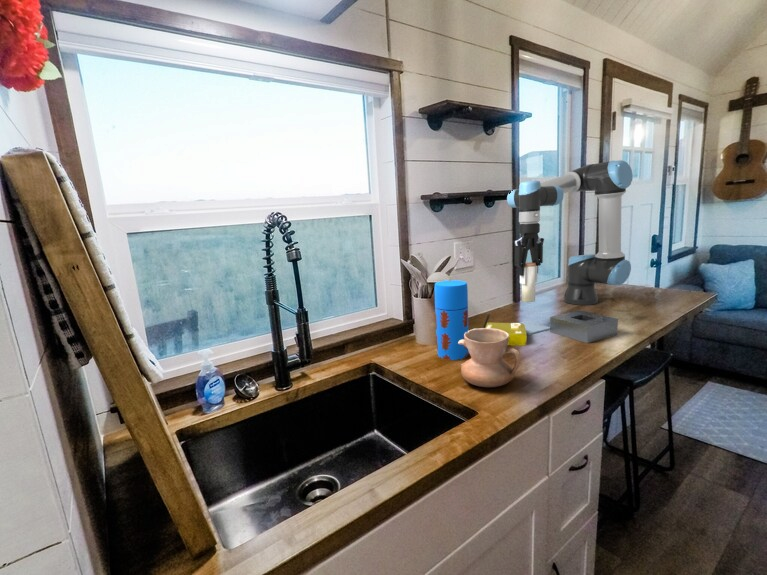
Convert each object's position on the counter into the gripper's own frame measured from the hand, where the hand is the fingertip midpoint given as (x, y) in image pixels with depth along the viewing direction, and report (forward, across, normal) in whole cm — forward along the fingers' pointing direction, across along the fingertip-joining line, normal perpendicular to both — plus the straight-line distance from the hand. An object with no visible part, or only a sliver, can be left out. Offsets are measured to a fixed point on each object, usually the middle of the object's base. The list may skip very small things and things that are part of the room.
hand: (528, 282), depth 149 cm
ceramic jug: (+19, -45, -29) cm, 57 cm away
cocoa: (+19, -29, -4) cm, 35 cm away
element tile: (+19, -15, -4) cm, 25 cm away
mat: (+19, 0, 0) cm, 19 cm away
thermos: (+19, -41, -6) cm, 45 cm away
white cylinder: (+7, 0, 0) cm, 7 cm away
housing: (+19, +11, -16) cm, 27 cm away
